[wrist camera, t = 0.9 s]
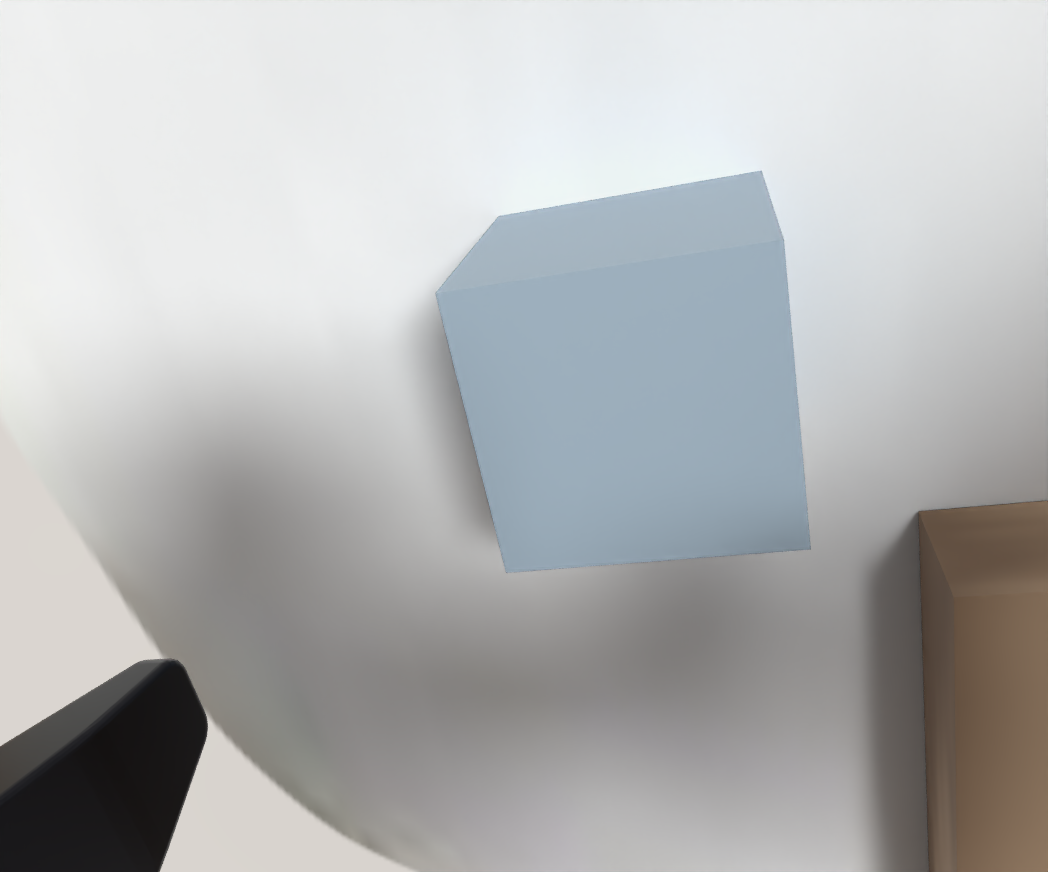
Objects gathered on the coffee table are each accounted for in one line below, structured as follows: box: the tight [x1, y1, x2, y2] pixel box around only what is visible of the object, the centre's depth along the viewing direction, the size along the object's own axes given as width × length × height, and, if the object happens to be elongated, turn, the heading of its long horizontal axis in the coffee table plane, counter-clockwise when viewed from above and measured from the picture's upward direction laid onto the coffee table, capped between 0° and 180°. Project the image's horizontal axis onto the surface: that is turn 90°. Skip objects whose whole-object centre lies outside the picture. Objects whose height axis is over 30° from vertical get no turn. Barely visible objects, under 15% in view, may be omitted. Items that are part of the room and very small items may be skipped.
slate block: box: [436, 171, 811, 573], centre depth 16 cm, size 5×5×5 cm
